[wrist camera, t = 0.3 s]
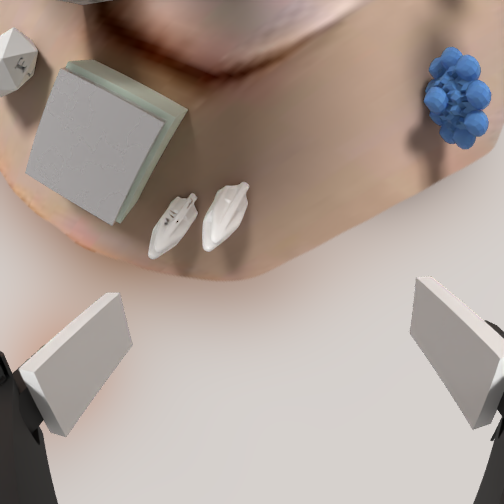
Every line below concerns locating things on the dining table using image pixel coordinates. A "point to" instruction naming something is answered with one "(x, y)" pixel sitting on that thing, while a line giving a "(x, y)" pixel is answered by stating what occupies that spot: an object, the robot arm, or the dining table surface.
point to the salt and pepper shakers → (214, 224)
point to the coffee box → (84, 1)
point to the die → (16, 60)
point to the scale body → (143, 98)
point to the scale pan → (92, 144)
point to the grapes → (457, 98)
